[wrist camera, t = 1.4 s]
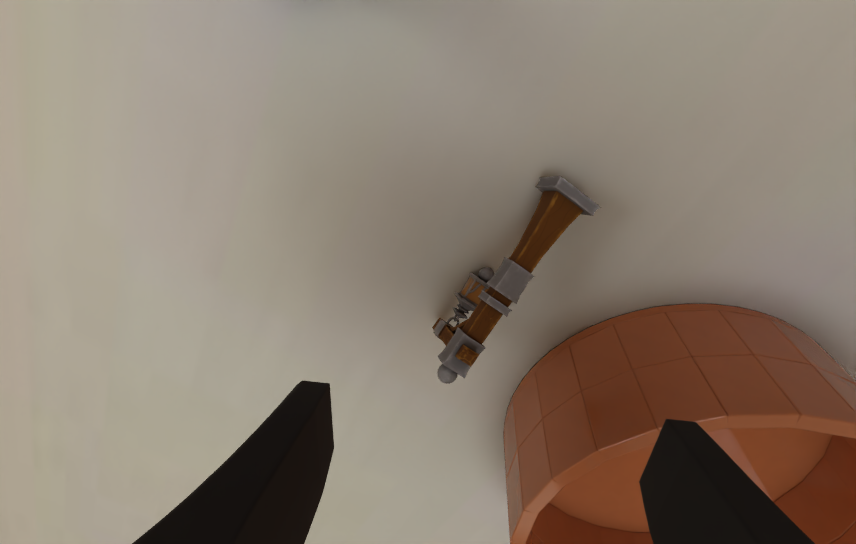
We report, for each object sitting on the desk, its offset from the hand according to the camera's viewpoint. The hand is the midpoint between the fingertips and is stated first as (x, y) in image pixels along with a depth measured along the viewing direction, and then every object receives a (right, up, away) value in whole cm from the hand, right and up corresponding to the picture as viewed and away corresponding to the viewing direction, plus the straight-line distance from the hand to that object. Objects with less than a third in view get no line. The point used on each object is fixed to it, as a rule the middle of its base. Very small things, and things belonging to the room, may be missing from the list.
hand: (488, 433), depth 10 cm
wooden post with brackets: (+2, +4, +9) cm, 10 cm away
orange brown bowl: (+10, -4, +12) cm, 17 cm away
